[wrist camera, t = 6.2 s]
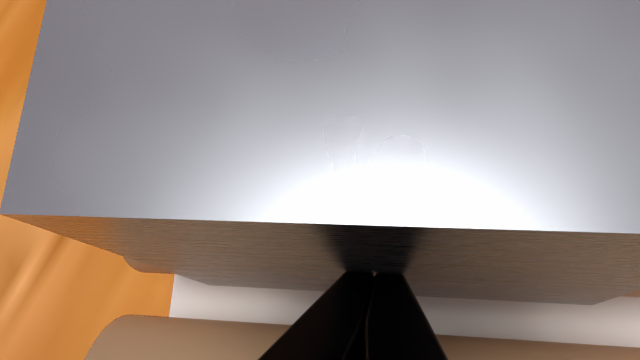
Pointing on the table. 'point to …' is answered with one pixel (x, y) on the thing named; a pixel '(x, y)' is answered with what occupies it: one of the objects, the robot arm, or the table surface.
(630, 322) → the roller track
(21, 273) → the table surface
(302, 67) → the grey block
